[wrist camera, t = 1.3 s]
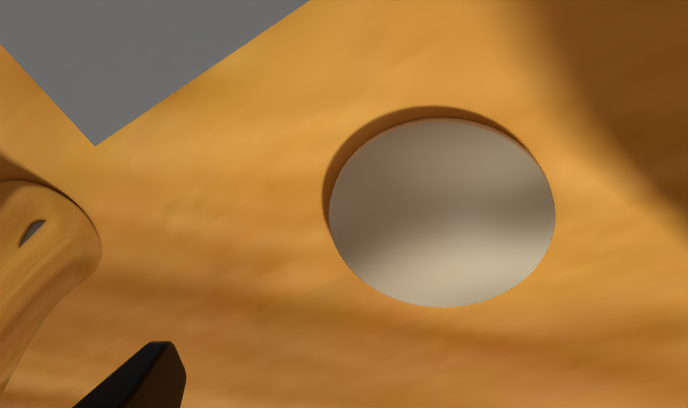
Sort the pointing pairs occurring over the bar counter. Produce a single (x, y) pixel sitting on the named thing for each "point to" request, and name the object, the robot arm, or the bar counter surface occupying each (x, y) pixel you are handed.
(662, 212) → the bar counter surface
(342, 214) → the metal coaster
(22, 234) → the beer glass
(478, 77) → the bar counter surface
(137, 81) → the slate board
